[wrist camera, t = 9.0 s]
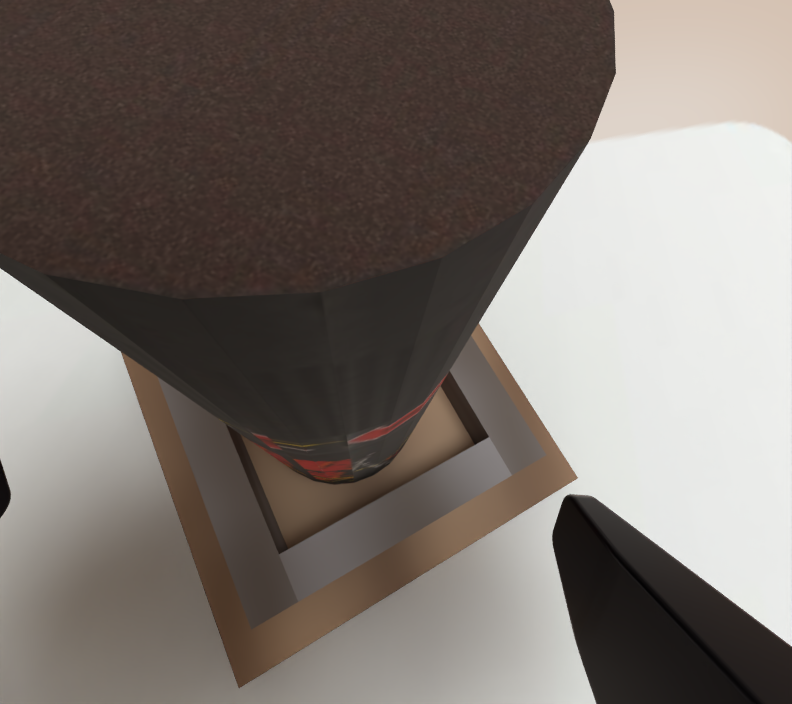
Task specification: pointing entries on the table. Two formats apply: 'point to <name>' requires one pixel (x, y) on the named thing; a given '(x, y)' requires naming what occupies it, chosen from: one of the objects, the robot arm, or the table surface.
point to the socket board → (344, 506)
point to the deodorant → (290, 192)
